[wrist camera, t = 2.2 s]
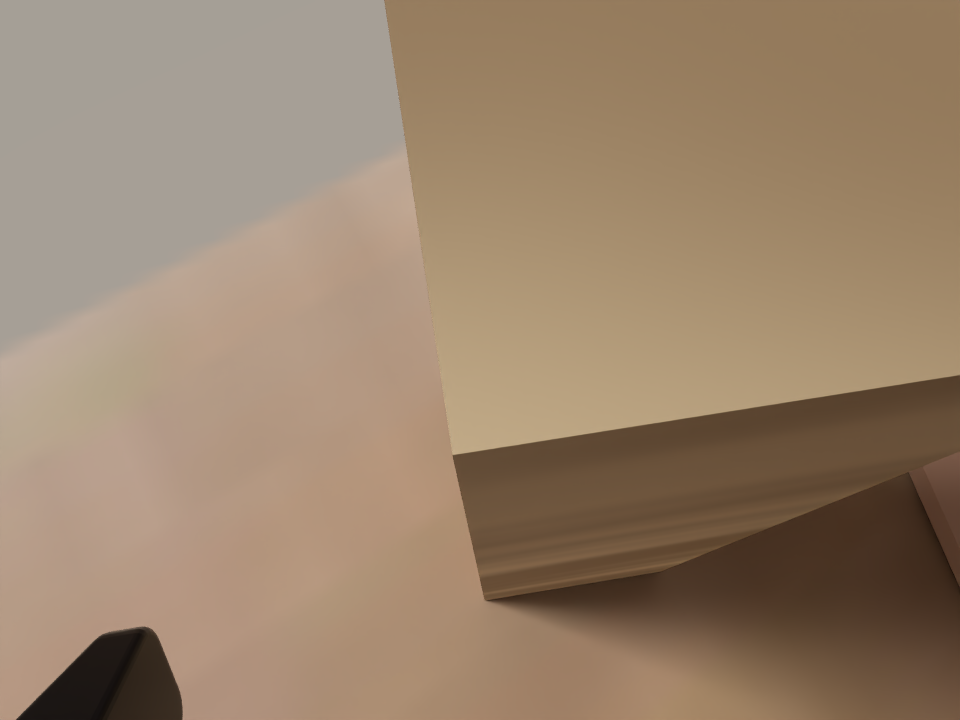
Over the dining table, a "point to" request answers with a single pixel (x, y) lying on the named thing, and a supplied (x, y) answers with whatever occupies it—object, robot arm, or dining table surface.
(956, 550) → the holder cup
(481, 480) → the wooden block
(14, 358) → the dining table surface
